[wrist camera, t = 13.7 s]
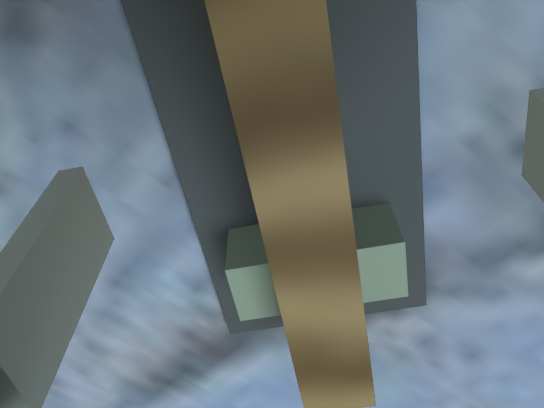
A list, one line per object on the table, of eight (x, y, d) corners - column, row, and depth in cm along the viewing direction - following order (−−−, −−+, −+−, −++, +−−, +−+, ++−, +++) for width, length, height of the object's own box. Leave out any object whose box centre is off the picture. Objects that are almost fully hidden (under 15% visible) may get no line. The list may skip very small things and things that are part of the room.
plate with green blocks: (-21, -458, 17) (-111, -567, 13) (389, -578, 16) (433, -739, 12) (230, 323, 38) (227, 379, 33) (422, 295, 36) (443, 349, 32)
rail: (89, -558, 13) (31, -706, 10) (238, -604, 13) (230, -772, 10) (301, 359, 32) (305, 414, 29) (363, 350, 32) (376, 405, 29)
